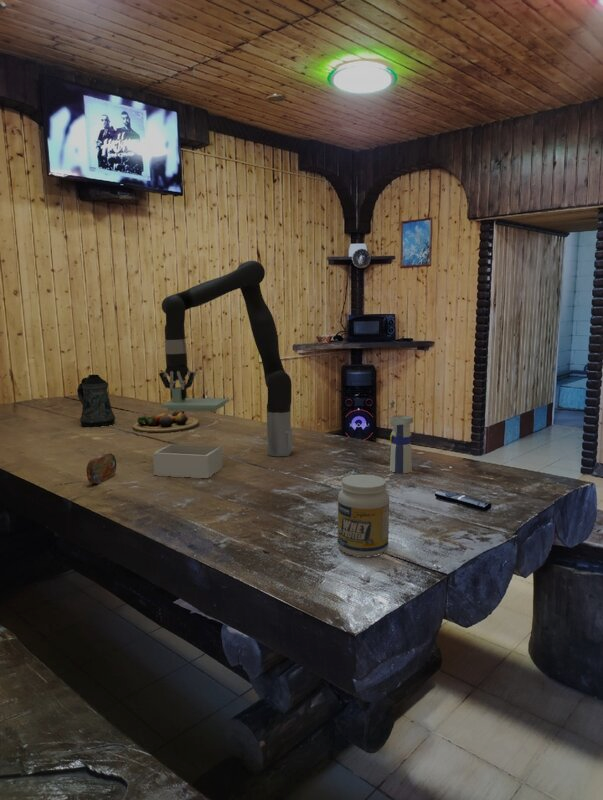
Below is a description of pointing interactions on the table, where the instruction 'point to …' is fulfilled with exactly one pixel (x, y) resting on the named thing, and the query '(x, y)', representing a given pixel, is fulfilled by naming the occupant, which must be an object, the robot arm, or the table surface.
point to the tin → (101, 468)
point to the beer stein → (95, 402)
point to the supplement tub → (363, 515)
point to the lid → (193, 403)
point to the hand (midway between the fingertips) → (179, 399)
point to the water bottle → (400, 443)
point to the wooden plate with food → (165, 423)
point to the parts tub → (188, 461)
